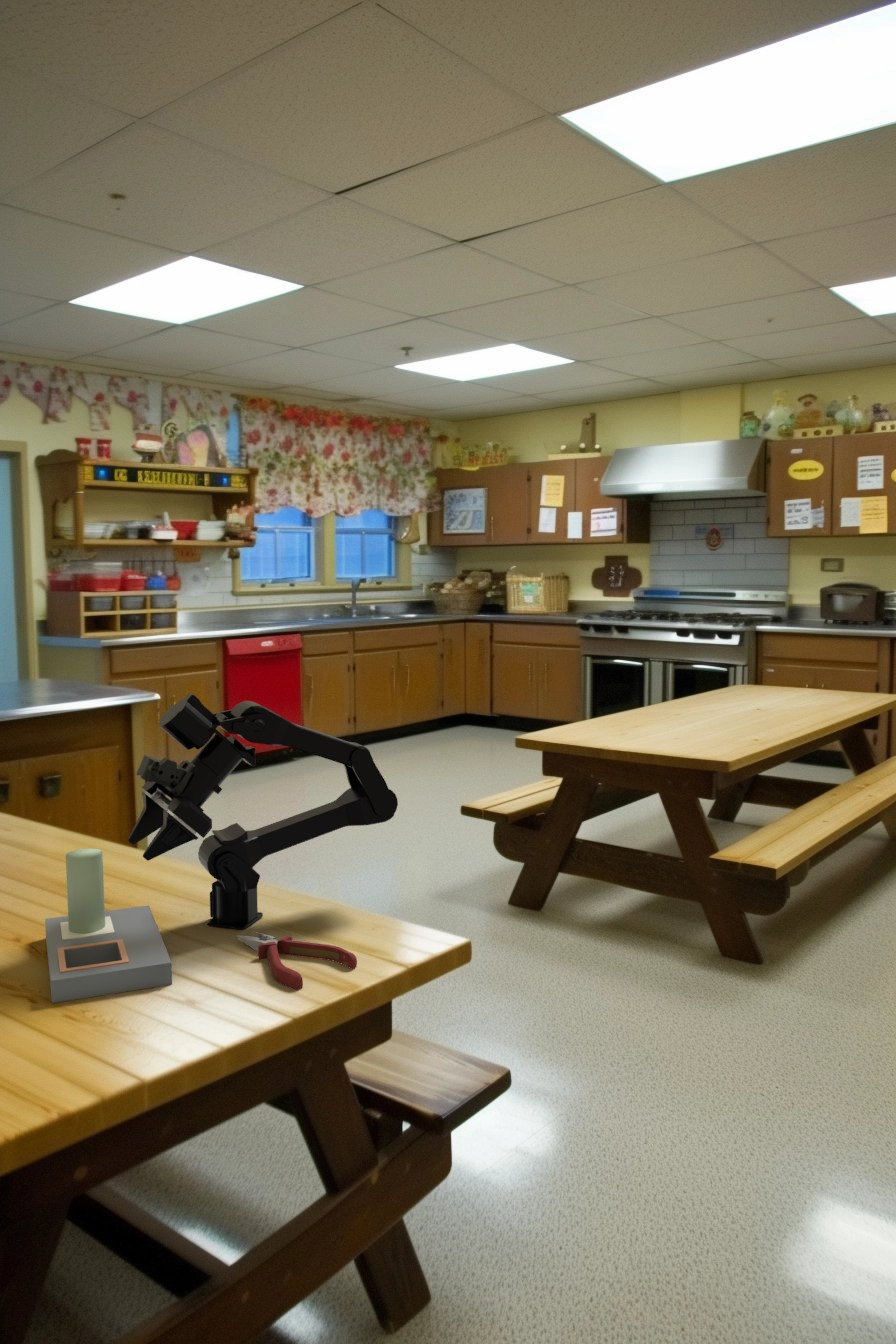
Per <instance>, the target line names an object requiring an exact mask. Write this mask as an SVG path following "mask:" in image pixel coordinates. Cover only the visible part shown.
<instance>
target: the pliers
mask: <svg viewBox="0 0 896 1344" xmlns="http://www.w3.org/2000/svg"><path fill="white" fill-rule="evenodd" d="M252 935H253V936H251V935H250V936H249V935H241V934H240V935H236V938H237V939H238V940H239V941H241V942H242V943H244V944H245V945H247V947H250V948H252V949H253V950H254V951H256V952H258V954H257V955H258V960H266V959H267V962H268V966H269V969H270V973H271V975H272V977H273V979H274V980H275V981H276V982H277V983H278V984H281V985H283V986H285V987H287V988H289V987H290V989H292V990H301V989H303V987H304V986H303V985H304V981H303V977H302V975H301V974H300V973H299V972H298V971H296V970H294V969H292V968H289V967H287V966H286V965H284V964H283V963H282V961H281V958H280V955H287V956H296V957H302V956H303V957H304V958H311V957H313V958H312V959H319V958H322V959H321V960H327V959H329V961H332V960H334V961H333V962H335V961H337V962H336V963H338V962H339V963H338V964H340V963H342V964H341V965H343V964H344V965H343V966H345V965H346V966H345V967H347V966H348V967H347V968H349V967H350V968H349V969H351V968H352V969H351V970H353V968H354V969H355V967H356V968H357V964H358V959H357V957H356V955H355V954H354V953H352V952H351V951H349V950H347V949H344V948H342V947H341V946H336V945H331V944H325V943H318V942H309V941H299V940H293V937H292V935H286V936H284V937H280V938H279V939H277V938H276V937H275V936H273V935H269V934H265V933H261V932H257V931H252ZM300 988H301V989H300Z"/></svg>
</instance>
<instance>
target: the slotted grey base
mask: <svg viewBox="0 0 896 1344" xmlns="http://www.w3.org/2000/svg"><path fill="white" fill-rule="evenodd" d="M44 924H45V927H44V928H45V943H46V952H47V953H46V954H47V955H46V956H47V964H48V974H49V975H48V976H49V985H50V986H49V987H50V995H51V996H50V997H51V1004H55V1003H62V1002H69V1001H75V1000H81V999H89V998H93V997H98V996H100V997H101V996H105V995H114V994H118V993H124V992H131V991H137V990H143V989H148V988H149V989H150V988H157V987H162V986H163V987H164V986H168V985H173V974H172V973H173V971H172V970H173V967H172V965H173V964H172V960H171V956H170V955H169V952H168V950H167V947H166V945H165V942H164V940H163V937H162V935H161V932H160V930H159V928H158V927H159V926H158V924H157V922H156V920H155V917H154V914H153V912H152V909H151V906H150V905H149V904H148V905H142V906H135V907H134V906H133V907H128V908H127V907H125V908H117V909H110V910H105V927H104V928H103V929H101V930H99V931H96V932H92V933H84V934H78V933H72V932H70V931H69V922H68V915H64V916H57V917H56V916H55V917H48V918H45V919H44Z"/></svg>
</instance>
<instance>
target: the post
mask: <svg viewBox="0 0 896 1344" xmlns="http://www.w3.org/2000/svg"><path fill="white" fill-rule="evenodd" d="M103 857H104V855H103V850H101V849H98V848H81V849H76V850H71V851H68V852H67V853H66V854H65V866H66V869H65V870H66V894H67V895H66V896H67V898H66V899H67V916H68V922H69V931H70V932H72V933H78V934H84V933H92V932H96V931H99V930H101V929H103V928H104V927H105V911H106V909H105V907H106V906H105V880H104V858H103Z"/></svg>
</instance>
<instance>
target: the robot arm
mask: <svg viewBox="0 0 896 1344" xmlns="http://www.w3.org/2000/svg"><path fill="white" fill-rule="evenodd" d="M158 727H160V729H162V730H163V731H164V732H165V733H166V734H167V735H169V736H170V737H171V738H172V739H173V740H175V741H176V743H178V744H179V745H180V746H181V747H183V748H184V749H185V750H187V751H189V750H192V749H193V748H194V749H196V750H200V751H198V753H197V754H196V755H195V756H194V757H193V758H192V760H190V761H189V760H187V759H186V760H183V761H182V762H180V763H179V764H177V762H176V761H175V760H171V759H169V758H168V757H164V758H162V759H158V758H156V757H153V756H150V755H148V754H144V755H143V757H142V759H141V762H140V764H139V766H138V769H137V772H136V773H135V774H136V776H139V777H140V779H142V780H144V781H146V783H144V784H143V786H142V789H143V790H144V791H146V792H147V793H145V792H144V791H142V792H141V796H142V801H143V803H142V804H143V808H142V810H141V812H140V814H139V816H138V819H137V821H136V823H135V825H134V826H133V829H132V830H131V832H130V834H129V836H128V838H127V842H128V843H130V845H133V846H134V845H136V844H138V843H139V842H140V841H143V840H144V839H145V838H147V837H149V836H150V835H151V834H153V833H154V832H156V831H157V830H158V831H157V833H156V834H155V836H154V838H152V840H151V841H150V843H149V844H148V846H147V847H146V849H145V851H144V852H143V854H142V858H144V860H146V861H151V860H153V859H154V858H157V857H159V856H161V855H164V854H165V853H167V852H169V851H171V850H173V849H176V848H178V847H180V846H182V845H185V844H187V843H190V842H192V841H194V840H195V841H197V840H198V839H199V837H198V836H197V835H196V833H197V834H198V835H199V836H200V837H201V838H203V840H202V842H201V844H200V845H199V847H198V848H199V849H198V853H197V854H198V860H199V862H200V864H201V866H203V868H204V869H205V870H206V872H207V873H208V874H209V875H210V876H211V877H212V878H214V879H215V880H216V881H213V882H212V883H211V891H210V892H209V916H210V919H209V920H208V921H206V923H207V926H213V927H220V928H228V929H236V930H244V929H246V928H248V927H250V926H251V925H252V924H254V923H256V921H258V920H259V919H260V918H262V917H263V916H264V915H263V912H262V911H261V912H259V911H258V910H259V909H258V884H259V882H260V879H261V875H260V874H259V873H258V872H257V871H256V870H255V869H254V867H255V866H256V865H257V864H258V863H259V862H261V860H263V859H264V858H266V857H268V856H270V855H273V854H276V853H279V852H280V851H283V850H286V849H289V848H291V847H295V846H297V845H300V844H302V843H305V842H308V841H310V840H313V839H315V838H319V837H321V836H324V835H326V834H329V833H332V832H335V831H337V830H339V829H343V828H345V827H353V826H354V827H355V826H356V827H358V826H359V827H360V826H362V827H363V826H370V825H376V824H381V823H386V822H388V821H390V820H391V819H393V818H394V816H395V813H396V811H397V810H398V805H399V803H398V802H399V801H398V797H397V795H396V793H395V792H394V791H393V790H391V789H390V788H389V786H388V784H387V781H386V780H385V778H384V777H383V775H382V773H381V771H380V770H379V768H378V767H377V765H376V763H375V761H374V758H373V757H372V754H371V752H370V749H368V747H366V746H364V745H361V744H359V743H358V742H353V741H352V742H351V741H347V740H345V739H341V738H338V737H335V736H332V735H329V734H327V733H323V732H321V731H319V730H318V731H317V730H314V729H312V728H309V727H305V726H302V725H300V724H297V723H295V722H292V721H290V720H288V719H286V718H285V717H283V716H281V715H280V714H278V713H276V712H274V711H273V710H271V709H269V708H267V707H265V706H263V705H261V704H259V703H257V702H255V701H251V700H243V701H242V702H239V703H237V704H236V705H235V706H233V708H232V709H229V710H224V711H219V712H214V713H213V712H212V711H211V710H210V709H208V708H207V707H206V706H205V705H204V704H203V703H202V702H201V700H200V699H199V698H198V697H197V696H196V695H195V694H193V693H188V694H187V695H185V697H184V698H182V699H180V700H179V701H177V702H176V703H175V704H174V705H171V706H170V707H169V708H168V709H167V710H166V711H165V713H164V714H163V715H162V716H161V718H160V720H159V721H158ZM217 728H220V729H221V730H224V731H225V732H226V733H229V734H230V736H228V737H225V736H224V735H223V734H222V732H220V731H219V730H218V729H217ZM232 735H233V736H232ZM234 735H237V736H238V737H240V738H241V739H243V740H245V741H248V742H249V743H253V744H258V745H259V744H261V745H268V746H282V747H288V748H292V749H295V750H298V751H302V752H303V753H308V754H311V755H315V756H317V757H320V758H324V759H326V760H328V761H329V760H330V761H332V762H334V763H335V762H336V763H339V764H342V765H343V766H344V771H345V774H346V778H347V782H348V785H349V788H348V789H347V790H345V791H344V792H343V793H342V794H341V795H340V796H339V797H337V798H336V799H335V800H333V801H331V802H328V803H325V804H324V805H320V806H318V807H315V808H311V809H308V810H307V811H303V812H301V813H297V814H295V815H292V816H289V817H288V818H284V819H281V820H278V821H276V822H273V823H271V824H267V825H265V826H262V827H260V828H256V829H253V830H246V829H244V827H242V826H241V825H240V824H239V823H237V822H235V823H233V824H230V825H229V826H227V827H225V828H223V829H217V830H216V829H214V830H213V819H212V818H211V817H210V816H208V815H207V814H206V813H205V812H204V809H203V808H202V807H203V805H204V804H205V803H206V802H207V801H208V800H209V799H210V797H212V795H213V794H214V793H216V794H217V795H219V794H220V792H222V790H223V788H221V786H220V785H222V783H224V781H225V780H226V779H227V778H228V777H229V775H231V773H232V772H233V771H234V770H235V768H237V766H238V765H239V764H240V763H241V762H242V761H244V762H245V763H246V764H248V765H250V766H252V767H255V766H256V765H257V761H256V748H255V747H253V746H250V745H249V746H245V745H244V744H243V743H242V742H241V741H240V740H238V739H237V738H236V737H235V736H234ZM169 811H170V812H171V813H172V814H173V815H172V814H171V813H169ZM210 832H211V833H212V834H211V835H209V836H207V835H208V834H209V833H210ZM206 836H207V837H206Z"/></svg>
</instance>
